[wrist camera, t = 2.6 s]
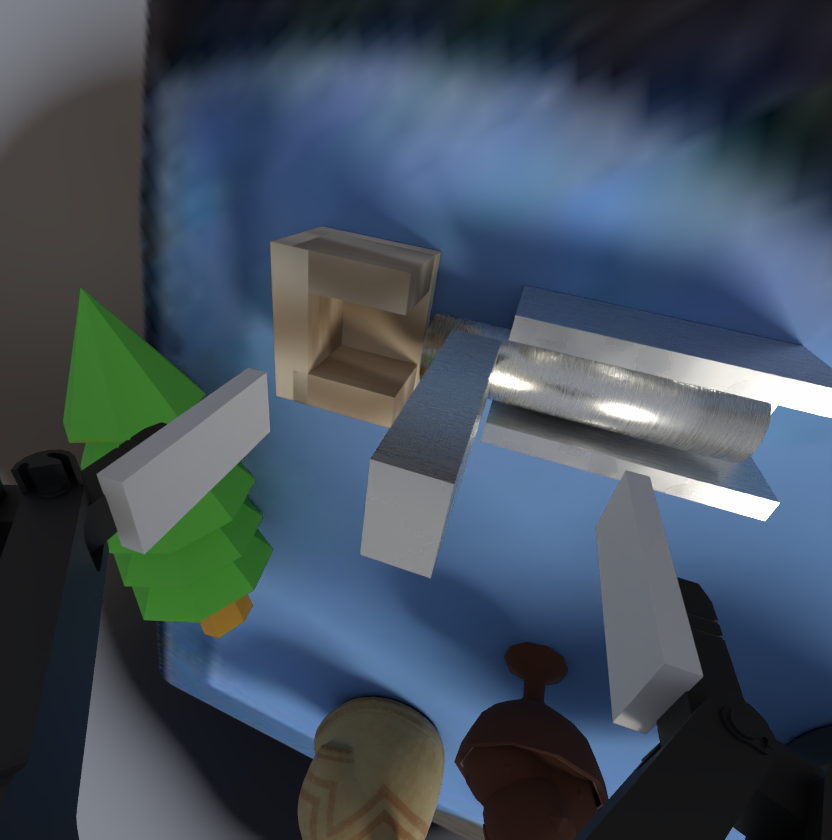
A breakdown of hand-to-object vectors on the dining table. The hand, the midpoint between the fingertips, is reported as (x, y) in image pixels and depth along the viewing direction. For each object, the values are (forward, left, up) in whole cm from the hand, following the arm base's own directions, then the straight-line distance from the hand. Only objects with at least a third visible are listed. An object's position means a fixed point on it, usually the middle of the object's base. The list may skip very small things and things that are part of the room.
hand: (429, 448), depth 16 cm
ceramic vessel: (-51, -1, -13) cm, 53 cm away
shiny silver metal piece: (0, -6, -11) cm, 12 cm away
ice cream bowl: (-29, -12, -13) cm, 34 cm away
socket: (0, +7, -12) cm, 14 cm away
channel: (0, -9, -12) cm, 15 cm away
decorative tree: (-15, +16, -11) cm, 25 cm away
